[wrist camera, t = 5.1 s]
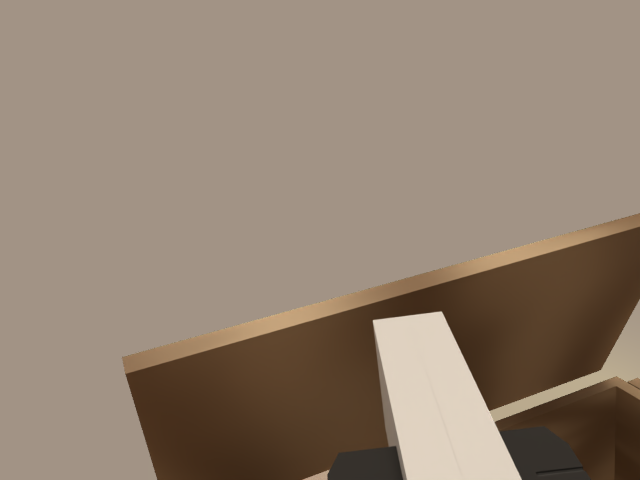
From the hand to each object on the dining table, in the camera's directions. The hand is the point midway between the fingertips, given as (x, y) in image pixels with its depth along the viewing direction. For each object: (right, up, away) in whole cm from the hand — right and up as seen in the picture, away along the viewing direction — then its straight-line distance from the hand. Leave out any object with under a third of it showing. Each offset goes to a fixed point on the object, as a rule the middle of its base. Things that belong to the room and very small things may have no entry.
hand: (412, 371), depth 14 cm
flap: (+1, -1, +6) cm, 6 cm away
